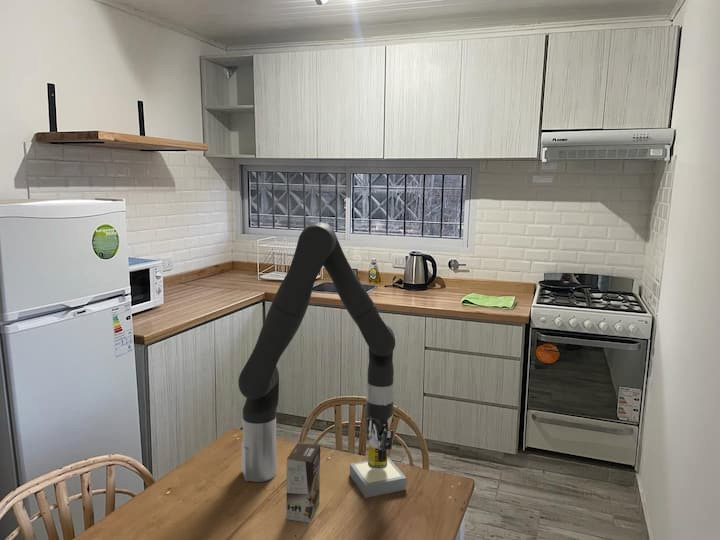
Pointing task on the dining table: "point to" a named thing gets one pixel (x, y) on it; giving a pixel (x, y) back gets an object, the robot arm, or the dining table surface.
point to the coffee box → (303, 482)
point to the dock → (377, 479)
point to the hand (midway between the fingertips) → (377, 455)
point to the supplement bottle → (375, 454)
